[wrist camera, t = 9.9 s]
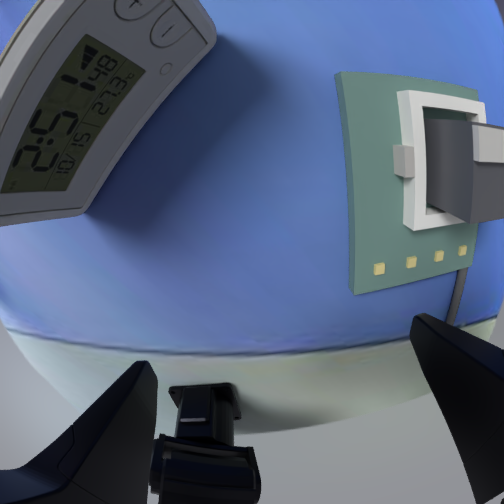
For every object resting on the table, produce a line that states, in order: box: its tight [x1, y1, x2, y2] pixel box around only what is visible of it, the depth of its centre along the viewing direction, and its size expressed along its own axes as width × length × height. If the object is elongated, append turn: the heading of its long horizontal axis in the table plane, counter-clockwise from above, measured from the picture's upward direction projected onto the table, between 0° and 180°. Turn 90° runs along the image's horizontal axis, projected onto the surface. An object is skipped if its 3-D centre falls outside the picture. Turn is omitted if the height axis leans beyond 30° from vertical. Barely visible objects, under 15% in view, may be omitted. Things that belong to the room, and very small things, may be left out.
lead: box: [446, 267, 468, 326], centre depth 22 cm, size 12×1×1 cm, turn 8°
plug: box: [424, 119, 504, 224], centre depth 14 cm, size 6×4×6 cm
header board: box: [334, 72, 486, 295], centre depth 17 cm, size 16×13×3 cm
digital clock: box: [0, 0, 217, 227], centre depth 10 cm, size 16×9×11 cm, turn 126°
